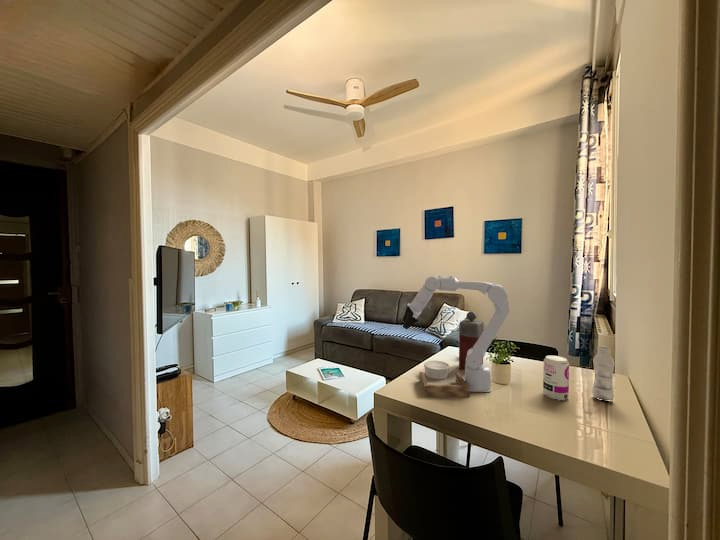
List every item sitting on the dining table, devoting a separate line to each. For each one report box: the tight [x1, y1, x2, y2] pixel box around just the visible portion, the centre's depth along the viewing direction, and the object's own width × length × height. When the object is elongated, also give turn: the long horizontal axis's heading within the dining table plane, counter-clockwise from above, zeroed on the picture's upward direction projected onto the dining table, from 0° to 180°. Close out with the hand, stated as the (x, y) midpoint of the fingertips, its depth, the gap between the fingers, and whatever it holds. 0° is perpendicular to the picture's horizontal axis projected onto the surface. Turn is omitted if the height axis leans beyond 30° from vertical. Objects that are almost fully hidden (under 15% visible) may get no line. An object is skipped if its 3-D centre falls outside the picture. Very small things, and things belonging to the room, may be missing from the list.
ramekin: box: [423, 360, 450, 380], centre depth 137 cm, size 11×11×5 cm
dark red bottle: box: [458, 310, 485, 372], centre depth 146 cm, size 9×11×28 cm
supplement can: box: [542, 355, 570, 401], centre depth 116 cm, size 8×8×15 cm
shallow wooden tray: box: [419, 371, 470, 398], centre depth 124 cm, size 17×14×4 cm
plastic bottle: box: [591, 345, 616, 401], centre depth 113 cm, size 6×7×20 cm
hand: (404, 324), depth 135 cm, fingers open, 7 cm apart
